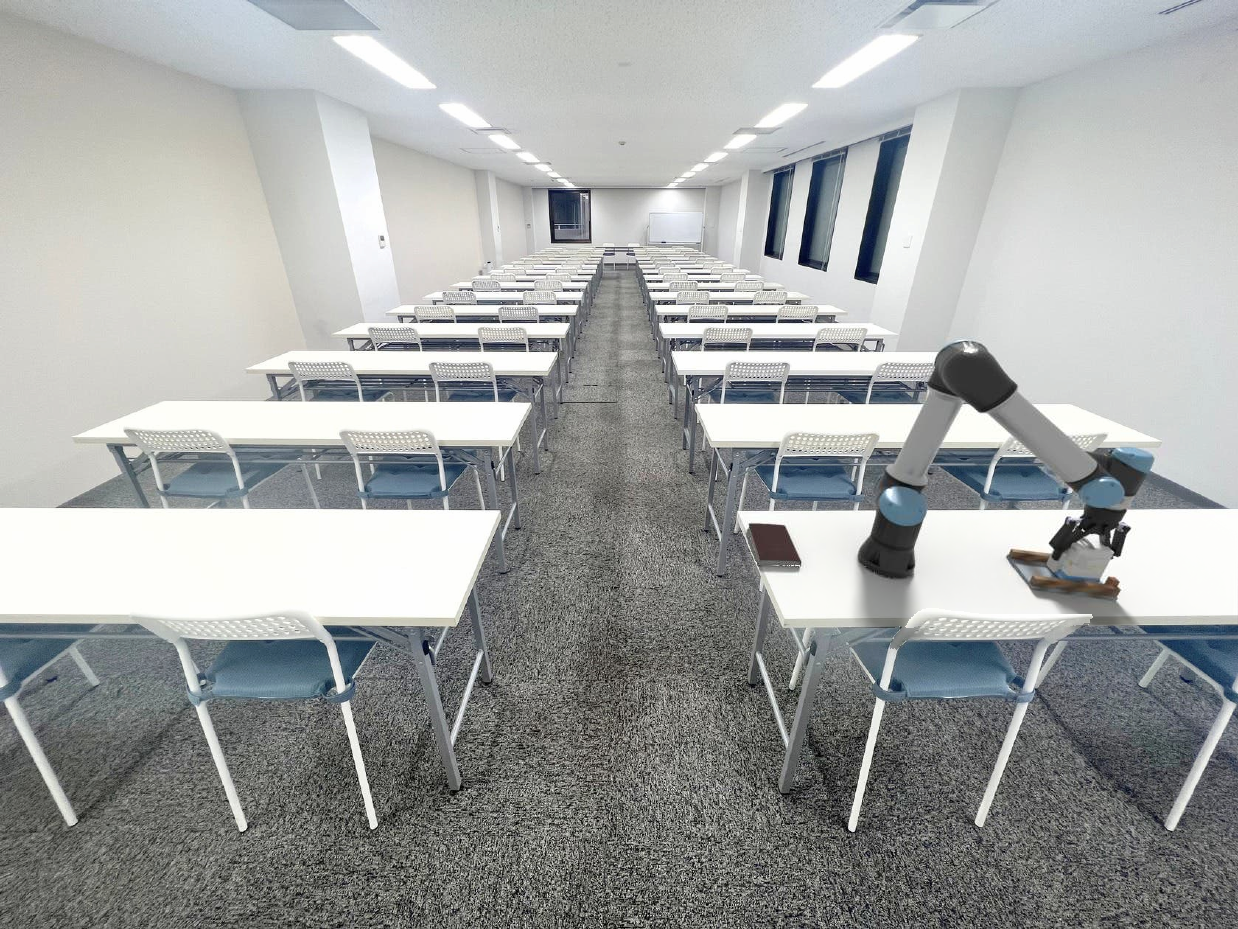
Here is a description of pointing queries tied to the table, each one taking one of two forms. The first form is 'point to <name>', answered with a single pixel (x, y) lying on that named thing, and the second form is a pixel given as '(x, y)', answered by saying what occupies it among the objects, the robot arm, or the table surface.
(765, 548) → the book
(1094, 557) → the ink box
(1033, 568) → the rail board
